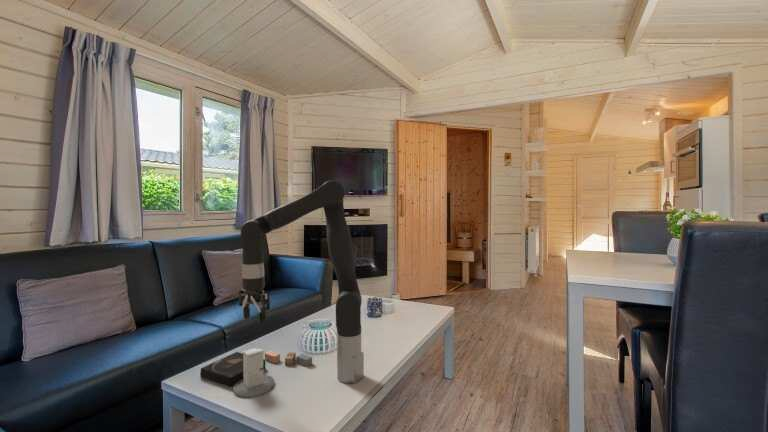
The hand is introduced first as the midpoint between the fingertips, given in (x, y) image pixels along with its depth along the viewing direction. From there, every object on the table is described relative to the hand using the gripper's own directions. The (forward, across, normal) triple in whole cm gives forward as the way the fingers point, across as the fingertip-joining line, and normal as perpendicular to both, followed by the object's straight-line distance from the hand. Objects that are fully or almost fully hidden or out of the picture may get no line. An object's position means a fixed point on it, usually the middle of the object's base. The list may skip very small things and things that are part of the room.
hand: (254, 320), depth 127 cm
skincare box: (+23, 0, +1) cm, 23 cm away
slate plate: (+24, 0, +1) cm, 24 cm away
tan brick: (+24, +4, -20) cm, 32 cm away
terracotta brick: (+24, +12, -17) cm, 32 cm away
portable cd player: (+25, +16, -2) cm, 30 cm away
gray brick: (+24, -2, -22) cm, 33 cm away
